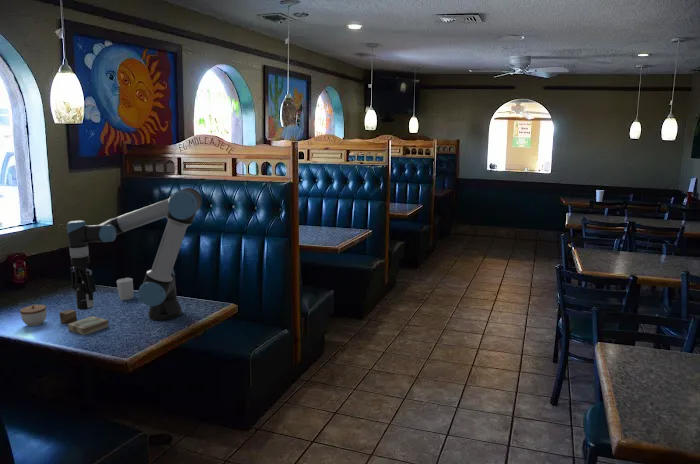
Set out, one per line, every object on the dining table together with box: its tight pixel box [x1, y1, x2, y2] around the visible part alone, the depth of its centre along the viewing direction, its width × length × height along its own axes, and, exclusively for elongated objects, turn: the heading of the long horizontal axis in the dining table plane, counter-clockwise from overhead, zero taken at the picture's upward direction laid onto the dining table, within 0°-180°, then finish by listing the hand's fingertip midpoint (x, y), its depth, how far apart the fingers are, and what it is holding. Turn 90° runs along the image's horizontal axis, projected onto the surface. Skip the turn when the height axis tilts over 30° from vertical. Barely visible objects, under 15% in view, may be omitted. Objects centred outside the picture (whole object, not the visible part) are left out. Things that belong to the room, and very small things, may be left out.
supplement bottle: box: [75, 280, 93, 311], centre depth 250 cm, size 7×7×12 cm
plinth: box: [67, 315, 110, 336], centre depth 253 cm, size 12×12×3 cm
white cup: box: [116, 277, 134, 301], centre depth 295 cm, size 8×8×10 cm
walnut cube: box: [59, 308, 78, 325], centre depth 263 cm, size 5×5×5 cm
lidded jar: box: [19, 304, 48, 327], centre depth 260 cm, size 11×11×9 cm
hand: (85, 305), depth 251 cm, fingers closed on supplement bottle, 7 cm apart
